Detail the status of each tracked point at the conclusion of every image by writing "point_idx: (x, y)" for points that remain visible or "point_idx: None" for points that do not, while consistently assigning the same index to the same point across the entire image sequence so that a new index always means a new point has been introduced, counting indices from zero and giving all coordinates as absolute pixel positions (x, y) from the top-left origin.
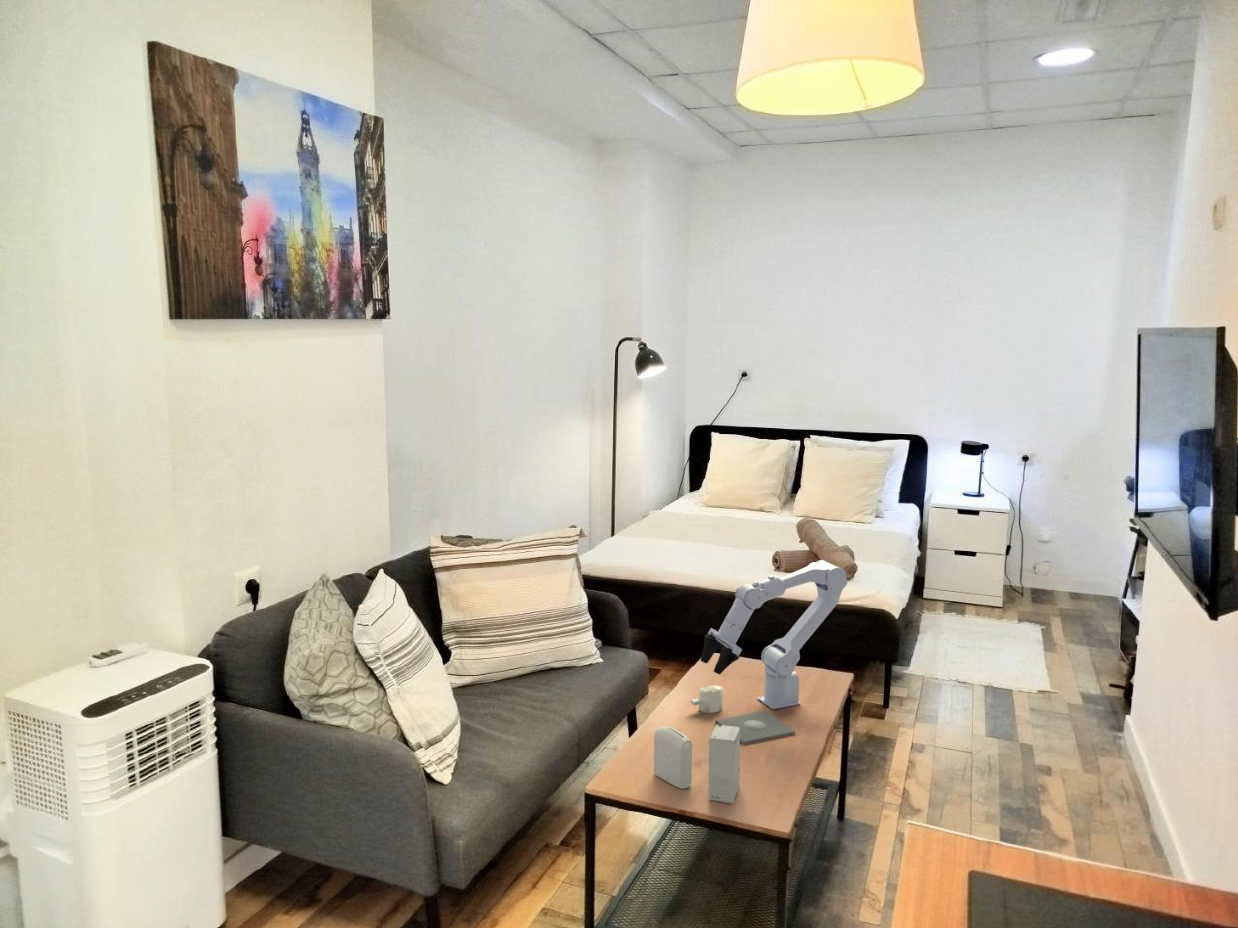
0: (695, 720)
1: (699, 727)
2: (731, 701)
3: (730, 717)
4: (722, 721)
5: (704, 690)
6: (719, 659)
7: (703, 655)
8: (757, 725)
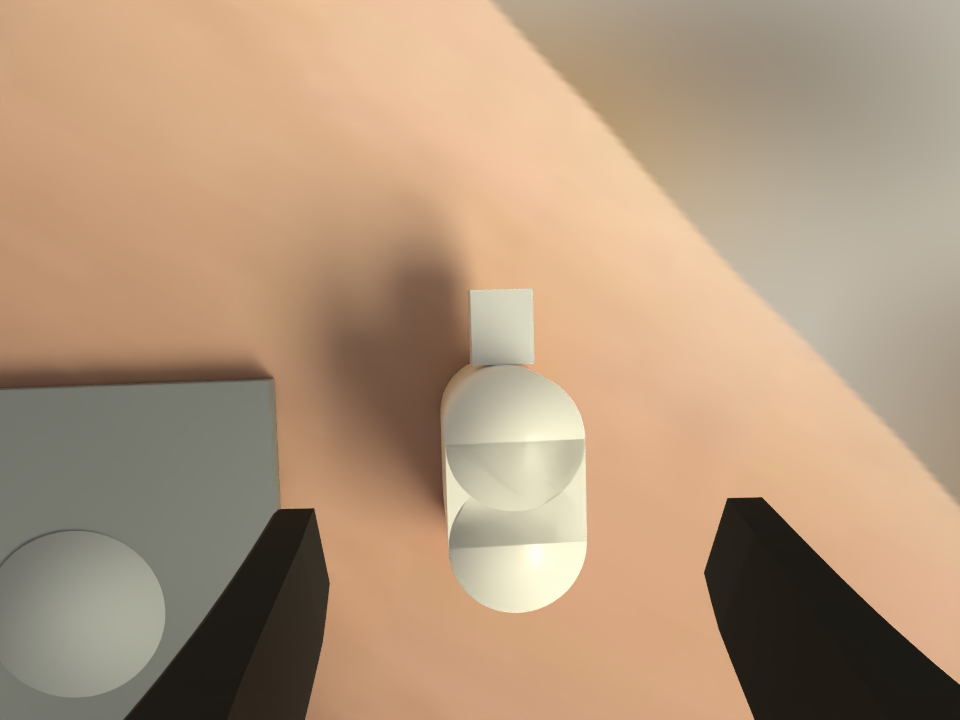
0: (359, 254)
1: (238, 225)
2: (561, 655)
3: (269, 506)
4: (223, 415)
5: (510, 416)
6: (183, 710)
7: (777, 571)
8: (63, 629)
